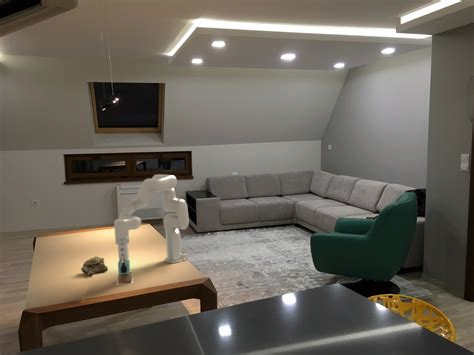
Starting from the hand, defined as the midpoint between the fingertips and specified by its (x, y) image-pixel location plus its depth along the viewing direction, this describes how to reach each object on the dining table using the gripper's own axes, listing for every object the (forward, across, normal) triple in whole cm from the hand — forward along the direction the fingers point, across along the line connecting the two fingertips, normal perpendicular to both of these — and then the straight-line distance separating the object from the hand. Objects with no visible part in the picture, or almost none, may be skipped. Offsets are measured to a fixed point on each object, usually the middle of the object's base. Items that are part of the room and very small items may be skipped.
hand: (124, 270), depth 227 cm
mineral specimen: (+8, +23, +20) cm, 31 cm away
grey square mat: (+8, 0, 0) cm, 8 cm away
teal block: (+1, 0, 0) cm, 1 cm away
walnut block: (+6, 0, 0) cm, 6 cm away
